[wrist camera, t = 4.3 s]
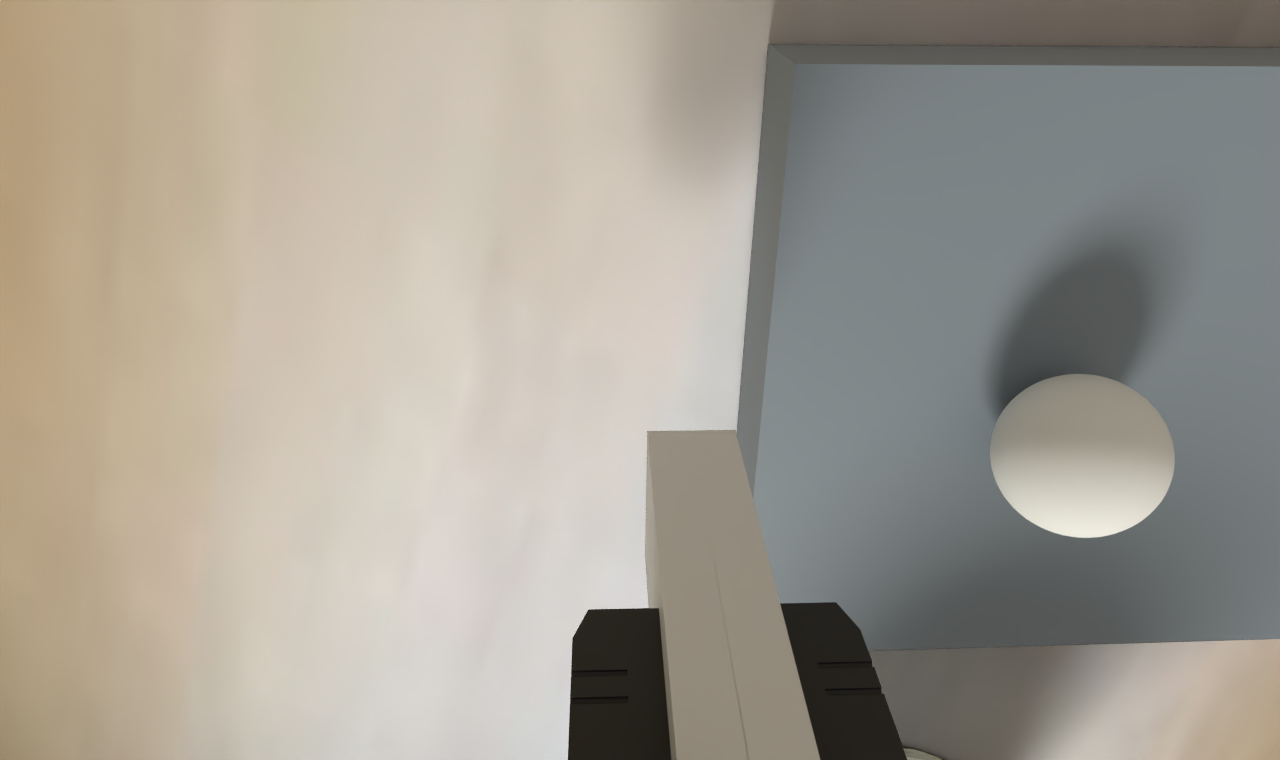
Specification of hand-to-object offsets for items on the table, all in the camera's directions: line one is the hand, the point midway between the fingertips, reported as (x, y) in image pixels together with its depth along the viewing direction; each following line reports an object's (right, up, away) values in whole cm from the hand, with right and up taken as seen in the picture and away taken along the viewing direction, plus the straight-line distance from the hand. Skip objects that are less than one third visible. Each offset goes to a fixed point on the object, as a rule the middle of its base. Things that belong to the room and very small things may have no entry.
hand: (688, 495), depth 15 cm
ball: (+8, +1, +2) cm, 8 cm away
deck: (+15, +3, +6) cm, 16 cm away
